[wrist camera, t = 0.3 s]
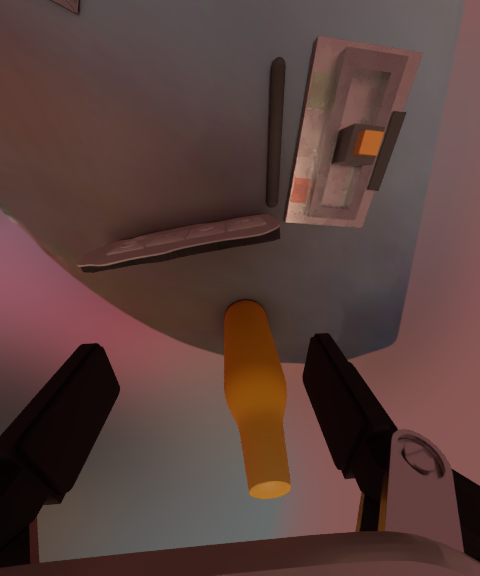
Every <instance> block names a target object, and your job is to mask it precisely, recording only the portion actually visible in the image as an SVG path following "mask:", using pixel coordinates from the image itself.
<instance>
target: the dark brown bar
mask: <svg viewBox="0 0 480 576" xmlns="http://www.w3.org/2000/svg"><path fill="white" fill-rule="evenodd" d="M405 115H406V112H399V111H393V113H392V116H391V119H390V122H389V125H388V128H387V131H386V134H385V137H384V140H383V143H382V146H381V149H380V152H379V155H378V158H377V161H376V164H375V167H374V170H373V173H372V176H371V179H370V182H369V185H368V188H367V190H374V191H379V188H380V185H381V182H382V179H383V177H384V174H385V171H386V168H387V165H388V163H389V160H390V157H391V154H392V151H393V149H394V146H395V143H396V140H397V137H398V135H399V132H400V129H401V126H402V123H403V121H404V118H405Z"/></svg>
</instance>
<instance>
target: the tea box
mask: <svg viewBox="0 0 480 576" xmlns="http://www.w3.org/2000/svg"><path fill="white" fill-rule="evenodd" d="M52 1H54V2H56V3H58V4H60V5H62V6H64V7H65V8H67V9H69V10H71V11H73V12H75V13H78V2H79V0H52Z"/></svg>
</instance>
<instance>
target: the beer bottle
mask: <svg viewBox="0 0 480 576" xmlns="http://www.w3.org/2000/svg"><path fill="white" fill-rule="evenodd" d="M224 330H225V337H224V391H225V397H226V401H227V404H228V407H229V409H230V411H231V413H232V415H233V417H234V419H235V421H236V423H237V425H238V428H239V432H240V437H241V443H242V450H243V456H244V463H245V470H246V475H247V482H248V488H249V493H250V495H251V496H252V497H255V498H259V499H270V498H276V497H279V496H282V495H284V494H286V493H288V492H289V491H290V489H291V484H290V475H289V467H288V460H287V453H286V447H285V438H284V431H283V416H284V411H285V405H286V398H287V389H286V381H285V377H284V374H283V371H282V367H281V364H280V361H279V357H278V354H277V351H276V347H275V344H274V341H273V338H272V334H271V331H270V328H269V324H268V320H267V316H266V313H265V311H264V309H263V308H262V307H261V306H260V305H259V304H258V303H256V302H254V301H249V300H242V301H238V302H236V303H234V304H233V305H231V306H230V307H229V308H228V310H227V311H226V314H225V318H224Z"/></svg>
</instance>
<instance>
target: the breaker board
mask: <svg viewBox="0 0 480 576" xmlns="http://www.w3.org/2000/svg"><path fill="white" fill-rule="evenodd" d="M422 55H423V53H422V52H416V51H410V50H404V49H398V48H391V47H385V46H379V45H373V44H367V43H361V42H354V41H348V40H342V39H336V38H330V37H324V36H318V37H317V39H316V40H315V42H314V44H313V50H312V56H311V62H310V67H309V73H308V79H307V85H306V91H305V97H304V103H303V108H302V114H301V120H300V126H299V132H298V138H297V144H296V149H295V155H294V161H293V167H292V173H291V179H290V184H289V190H288V196H287V202H286V208H285V214H284V220H283V221H284V222H288V223H302V224H316V225H330V226H344V227H358V228H362V226H363V223H364V221H365V218H366V215H367V212H368V209H369V206H370V203H371V200H372V198H373V195H374V192H375V191H374V190H367V188H368V185H369V182H370V179H371V176H372V173H373V170H374V167H375V164H376V161H377V158H378V155H379V152H380V149H381V146H382V143H383V140H384V137H385V134H386V131H387V128H388V125H389V122H390V119H391V116H392V113H393V111H399V112H403V109H404V106H405V103H406V100H407V97H408V95H409V92H410V89H411V86H412V83H413V80H414V77H415V75H416V72H417V69H418V66H419V63H420V60H421V57H422ZM355 123H356V124H364V125H373V126H381V127H385V129H384V135H383V138H382V141H381V144H380V147H379V150H378V153H377V156H376V157H375V160H374V163H373V164H372V165H363V166H343V165H333V164H331V162H332V158H333V154H334V150H335V146H336V142H337V138H338V134H339V130H341V129H343V128H346V127H348V126H350V125H352V124H355Z"/></svg>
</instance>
